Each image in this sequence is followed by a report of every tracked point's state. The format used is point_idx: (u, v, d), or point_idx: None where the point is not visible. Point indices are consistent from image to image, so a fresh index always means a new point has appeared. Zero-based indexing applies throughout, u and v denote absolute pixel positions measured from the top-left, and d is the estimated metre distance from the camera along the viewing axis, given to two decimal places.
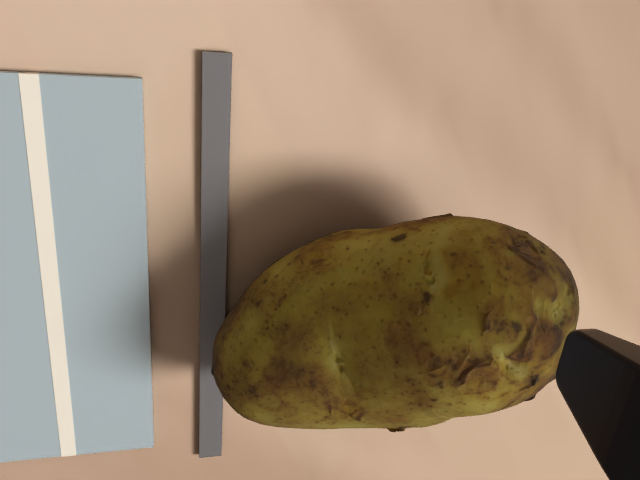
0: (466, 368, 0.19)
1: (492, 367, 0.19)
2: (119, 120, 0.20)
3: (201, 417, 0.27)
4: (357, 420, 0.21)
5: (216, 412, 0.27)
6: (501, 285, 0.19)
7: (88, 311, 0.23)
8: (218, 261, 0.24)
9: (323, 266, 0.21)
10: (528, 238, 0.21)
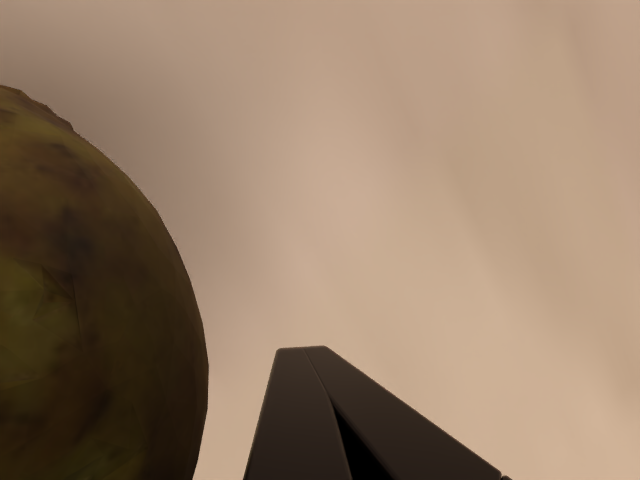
0: None
1: None
2: None
3: None
4: None
5: None
6: None
7: None
8: None
9: None
10: None
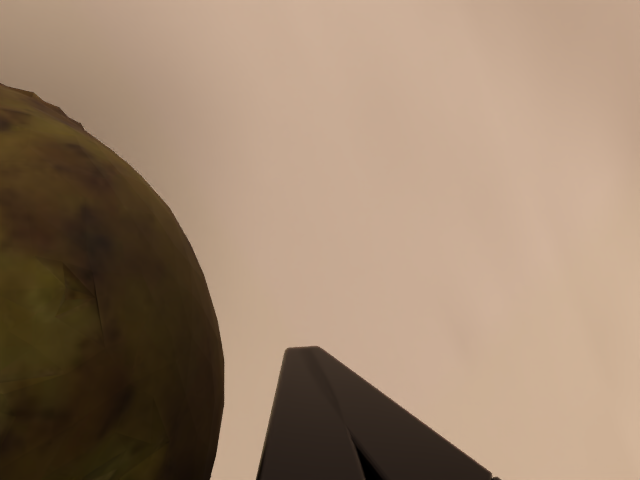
0: None
1: None
2: None
3: None
4: None
5: None
6: None
7: None
8: None
9: None
10: None
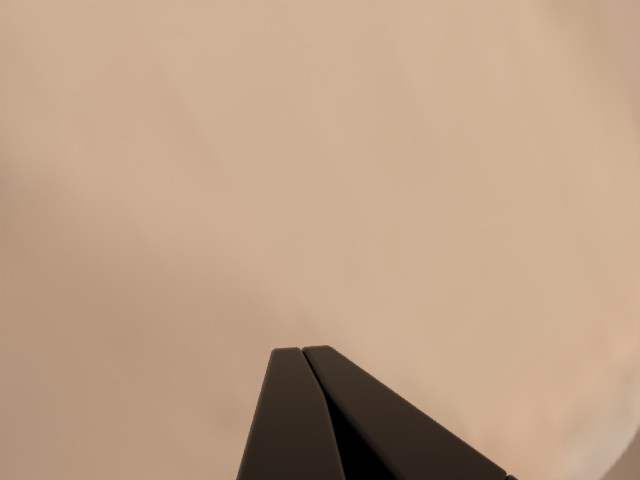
0: None
1: None
2: None
3: None
4: None
5: None
6: None
7: None
8: None
9: None
10: None
